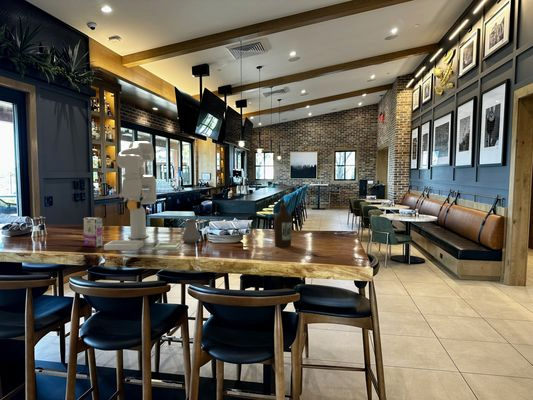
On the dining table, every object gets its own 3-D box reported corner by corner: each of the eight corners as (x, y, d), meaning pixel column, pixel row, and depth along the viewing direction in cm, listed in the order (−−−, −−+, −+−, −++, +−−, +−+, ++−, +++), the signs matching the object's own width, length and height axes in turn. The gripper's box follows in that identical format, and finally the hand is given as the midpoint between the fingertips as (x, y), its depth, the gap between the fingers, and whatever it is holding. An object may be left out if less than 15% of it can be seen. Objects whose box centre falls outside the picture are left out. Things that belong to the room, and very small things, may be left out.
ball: (129, 209, 198) (129, 199, 198) (139, 209, 199) (139, 199, 198) (125, 210, 192) (125, 200, 192) (136, 210, 193) (136, 200, 192)
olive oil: (270, 245, 205) (270, 203, 203) (284, 243, 211) (285, 202, 209) (280, 248, 196) (281, 204, 194) (295, 246, 202) (296, 204, 200)
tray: (157, 245, 205) (157, 242, 204) (181, 244, 206) (181, 242, 205) (151, 249, 192) (151, 247, 192) (177, 249, 193) (177, 247, 193)
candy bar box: (103, 245, 202) (103, 218, 201) (96, 247, 198) (95, 219, 197) (91, 243, 207) (90, 216, 206) (83, 245, 203) (82, 217, 202)
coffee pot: (197, 243, 209) (197, 219, 208) (179, 243, 210) (178, 218, 209) (206, 237, 230) (206, 215, 229) (189, 237, 231) (189, 214, 230)
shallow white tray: (112, 245, 202) (112, 240, 202) (143, 245, 204) (143, 240, 203) (104, 250, 190) (104, 244, 190) (137, 249, 192) (137, 244, 191)
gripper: (113, 176, 190) (114, 209, 191) (145, 176, 191) (146, 209, 192) (119, 176, 198) (119, 208, 199) (149, 176, 198) (150, 208, 200)
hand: (132, 208), depth 196 cm, fingers closed on ball, 5 cm apart
